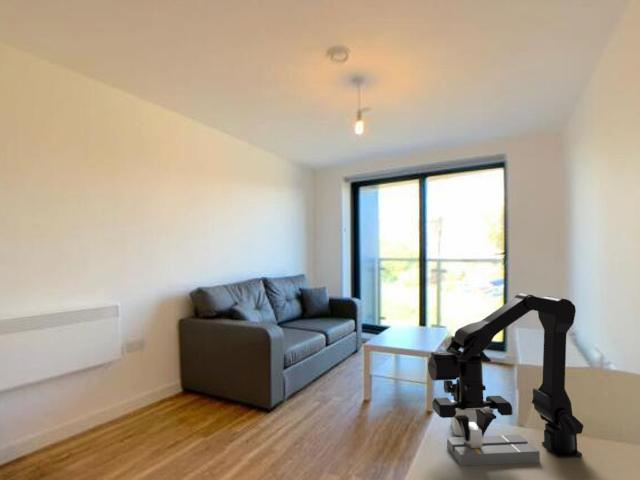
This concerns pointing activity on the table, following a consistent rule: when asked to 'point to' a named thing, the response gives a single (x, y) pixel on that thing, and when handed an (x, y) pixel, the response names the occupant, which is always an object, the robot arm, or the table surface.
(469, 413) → the medicine bottle
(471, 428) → the fader tab
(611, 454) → the table surface
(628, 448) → the table surface
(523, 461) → the slider console
